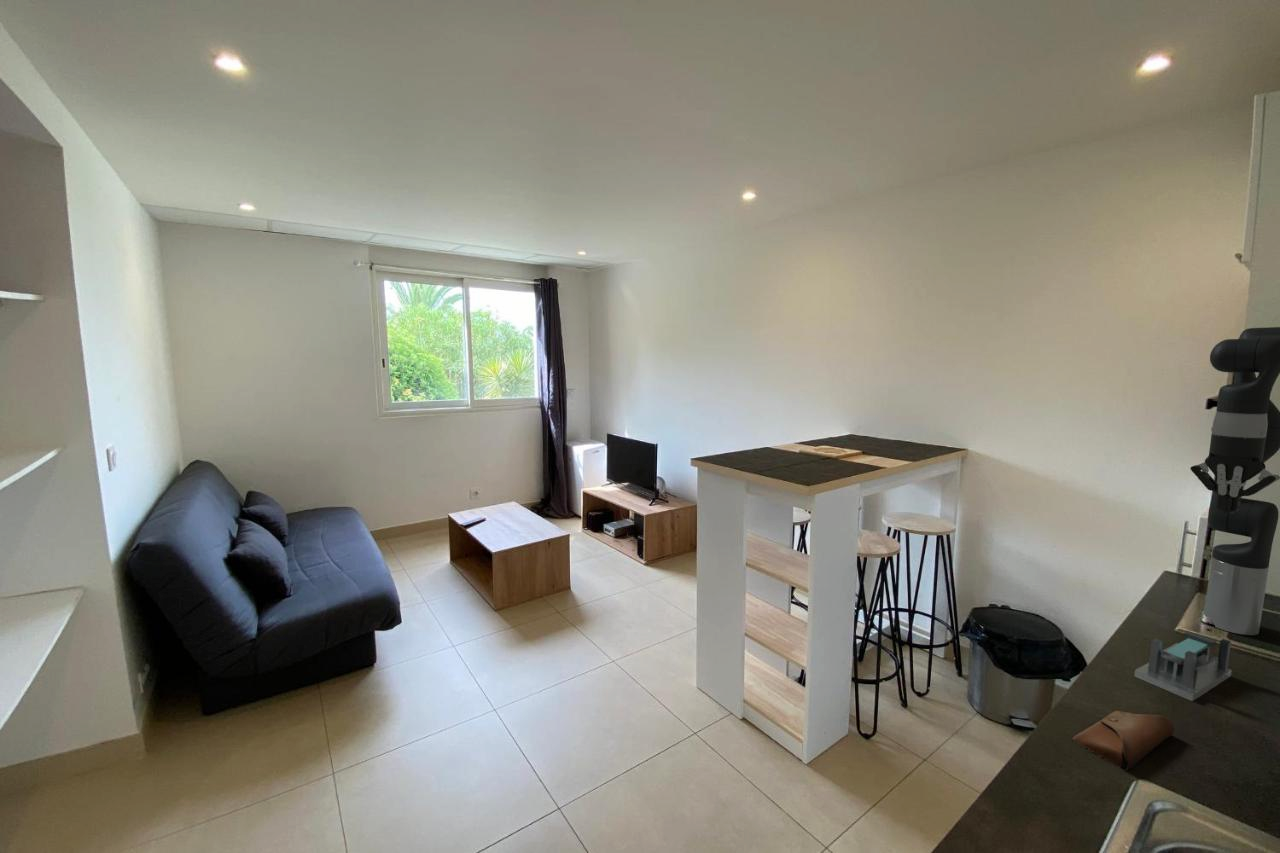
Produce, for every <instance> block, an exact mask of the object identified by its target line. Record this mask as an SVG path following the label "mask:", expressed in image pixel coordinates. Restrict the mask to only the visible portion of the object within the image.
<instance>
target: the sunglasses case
mask: <svg viewBox="0 0 1280 853" xmlns="http://www.w3.org/2000/svg"><path fill="white" fill-rule="evenodd" d="M1174 731H1175V729H1174V725H1173V723H1172V722H1171V721H1170V719H1169V718H1168V717H1166V716H1164V715H1160V714H1148V713H1147V714H1144V713H1143V714H1140V713H1134V712H1133V713H1132V712H1127V711H1120V710H1114V711H1112V712H1111V713H1109V714H1107V715H1106V716H1105V717H1103V718H1102V719H1101V720H1099V721H1097V722H1095V723H1094V724H1092V725H1090V726H1089V727H1088V728H1085V729H1084V730H1081V732H1079V733H1077V734H1076V735H1074V736H1073V737H1072V739H1073V740H1075V741H1077V742H1078V743H1080V744H1082V745H1083V746H1085V747H1087V748H1089V749H1090V750H1091V751H1094V752H1096V753H1097V754H1099V755H1101V756H1102V757H1103V758H1105V759H1107V760H1108V761H1110V762H1111V763H1110V762H1109V763H1110V764H1112V763H1113V764H1112V765H1114V764H1115V765H1116V766H1115V765H1114V766H1115V767H1117V766H1119V767H1120V768H1119V767H1118V768H1119V769H1121V768H1122V769H1121V770H1123V769H1124V771H1123V772H1127V771H1129V770H1131V769H1132V768H1134V767H1135V766H1136V765H1137V764H1138V763H1139V762H1140V761H1141V760H1142V759H1144V758H1145V757H1146V756H1147V755H1148V754H1150V753H1151V752H1152V751H1153V750H1154V749H1156V748H1157V747H1158V746H1159V745H1161V744H1162V743H1163V742H1165V741H1166V740H1167V739H1168V738H1170V737H1171V736H1172V735H1173V733H1174ZM1091 751H1090V752H1091ZM1103 758H1102V759H1103ZM1105 759H1104V760H1105ZM1107 760H1106V761H1107ZM1108 761H1107V762H1108Z"/></svg>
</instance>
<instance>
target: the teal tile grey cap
mask: <svg viewBox="0 0 1280 853" xmlns="http://www.w3.org/2000/svg"><path fill="white" fill-rule="evenodd" d="M1183 638H1185V639H1184V640H1182V641H1181V642H1178V643H1179V644H1177V645H1176V646H1174V647H1172V648H1171V649H1169V650H1167V651H1163V652H1162V654H1161V657H1162V658H1164V659H1167V660H1170V661H1172V662H1175V663H1177V664H1180V665H1182V664H1183V662H1184V659H1185V653H1186V652H1188V651H1191V652H1193V653H1196V654H1197V653H1199V652H1201V651H1202V650H1204V649H1205V648H1207V647H1210V648H1213V647H1214V646H1216V642H1217V640H1214V639H1211V638H1210V637H1209V638H1208V637H1206V636H1204V635H1200V634H1197V633H1193V631H1192V632H1191V631H1186V632H1183Z"/></svg>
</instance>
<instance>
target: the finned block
mask: <svg viewBox="0 0 1280 853" xmlns="http://www.w3.org/2000/svg"><path fill="white" fill-rule="evenodd" d="M1179 643H1180V642H1176V643H1174V644H1171V645H1170V646H1168V647H1167V648H1165V649H1163V640H1160V639H1158V638H1153V639H1152V640H1151V642H1150V649H1149V651H1150V652H1149V659H1148V662H1147V663H1146V664H1144V665H1142V666H1140V667H1137V668H1135V669H1134V677H1135V678H1138V679H1140V680H1142V681H1143V682H1146V683H1149V684H1152V685H1153V686H1156V687H1157V688H1161V689H1163V690H1165V691H1167V692H1169V693H1172V694H1174V695H1177V696H1179V697H1181V698H1184V699H1186V700H1187V701H1190V702H1194V701H1195V700H1196V699H1198V698H1200V697H1201V696H1203V695H1205V694H1206V693H1207V692H1209V691H1210V690H1212V689H1214V688H1216V687H1217V686H1218V685H1220V684H1221V683H1223V682H1224V681H1226V680H1227V679H1229V678H1230V677H1231V675H1232V669H1229V667H1228V666H1229V662H1230V652H1231V648H1232V647H1231V645H1232V641H1230V640H1228V639H1225V638H1222V639H1221V640H1220V641H1219V651H1218V656H1214V657H1212V658H1211V659H1209V658H1210V651H1211V647H1210V646H1209V647H1207V648H1205V649H1204V650H1202V651H1201V652H1199V653H1197V654H1196V653H1193V652H1191V651H1188V652H1186V653H1185V659H1184V662H1183V664H1182V665H1180V664H1177V663H1175V662H1172V661H1170V660H1167V659H1164V658H1162V657H1161V654H1162V652H1163V651H1167V650H1169V649H1171V648H1172V647H1174V646H1176V645H1177V644H1179Z"/></svg>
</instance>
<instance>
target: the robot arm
mask: <svg viewBox="0 0 1280 853" xmlns="http://www.w3.org/2000/svg"><path fill="white" fill-rule="evenodd" d="M1209 362H1210V364H1211V366H1212V368H1214V369H1215V370H1217V371H1219V372H1222V373H1233V383H1231V384H1225V385H1222V386H1221V387H1220V388H1219V390H1218V394H1217V395H1218V396H1217V404H1216V411H1215V415H1214V418H1213V422H1212V426H1211V433H1210V434H1211V436H1210V444H1209V451H1208V456H1207V457H1206V458H1205V459H1204V462H1202V463H1200V464H1196V465H1192V466H1191V467H1190V471H1191V472H1192V473H1193V474H1194V475H1195V476H1196V477H1197V479H1198V480H1199V481H1200V482H1201V483H1202V484H1203V485H1204V487H1205V488H1206V490H1208V491H1210V492H1211V491H1212V492H1213V493H1212V497H1211V499H1210V504H1209V509H1208V514H1207V515H1208V516H1207V521H1208V526H1209V528H1211V529H1212V530H1213V531H1218V532H1223V533H1227V534H1233V535H1238V536H1243V537H1248V538H1250V540H1249V541H1248V542H1247V541H1246V542H1242V543H1222V544H1217V545H1215V546H1213V549H1212V551H1211V552H1212V553H1211V561H1210V569H1209V576H1208V584H1207V590H1206V591H1207V592H1206V596H1205V598H1206V599H1205V605H1204V613H1203V616H1204V615H1205V616H1207V617H1209V618H1210V619H1211V620H1212V621H1213V623H1214V625H1215V627H1214V628H1216V629H1219V630H1222V631H1225V632H1229V633H1233V634H1239V635H1245V636H1256V635H1259V632H1260V627H1261V620H1262V615H1263V610H1264V609H1263V608H1264V601H1265V594H1266V589H1267V581H1268V575H1269V567H1270V561H1271V554H1272V548H1273V543H1274V538H1275V534H1276V530H1277V526H1278V522H1279V515H1280V514H1279V507H1277V505H1276V504H1275V503H1273V502H1270V501H1269V502H1268V501H1265V500H1258V499H1251V498H1243V497H1250V496H1253V495H1255V494H1258V492H1260V491H1262V490H1263V489H1265V488H1267V487H1269V486H1270V485H1272V484H1274V483H1275V482H1277V481H1279V480H1280V475H1278V474H1273V473H1272V472H1270V471H1269V470H1267V469H1266V464H1265V463H1266V462H1267V461H1268V460H1270V459H1271V458H1272V457H1273V456H1275V455H1276V454H1277V452H1278V451H1279V450H1280V409H1278V407H1277V406H1276V405H1275V403H1274V402H1273V401H1272V399H1270V398H1271V394H1272V391H1273V387H1274V385H1275V383H1276V381H1277V379H1278V377H1279V376H1280V326H1273V327H1252V328H1251V327H1250V328H1246V329H1244V330H1243V331H1241V333H1240V335H1239V337H1238V338H1230V339H1224V340H1222V341H1219V342H1218V343H1217V344H1216V345H1215V346H1214V347H1213V348H1212V350H1211V352H1210V354H1209ZM1256 373H1258V375H1256ZM1209 471H1210V472H1212V474H1213V475H1214V476H1215V477H1216V480H1215V479H1214V478H1213V477H1212V475H1211V474H1210V473H1209ZM1257 475H1259V476H1258V477H1257V480H1258V481H1257V482H1256V483H1254V484H1253V485H1251V486H1249V487H1248V488H1246V489H1245V487H1246V485H1247V481H1249V480H1252V479H1253V478H1255V477H1256V476H1257Z"/></svg>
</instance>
